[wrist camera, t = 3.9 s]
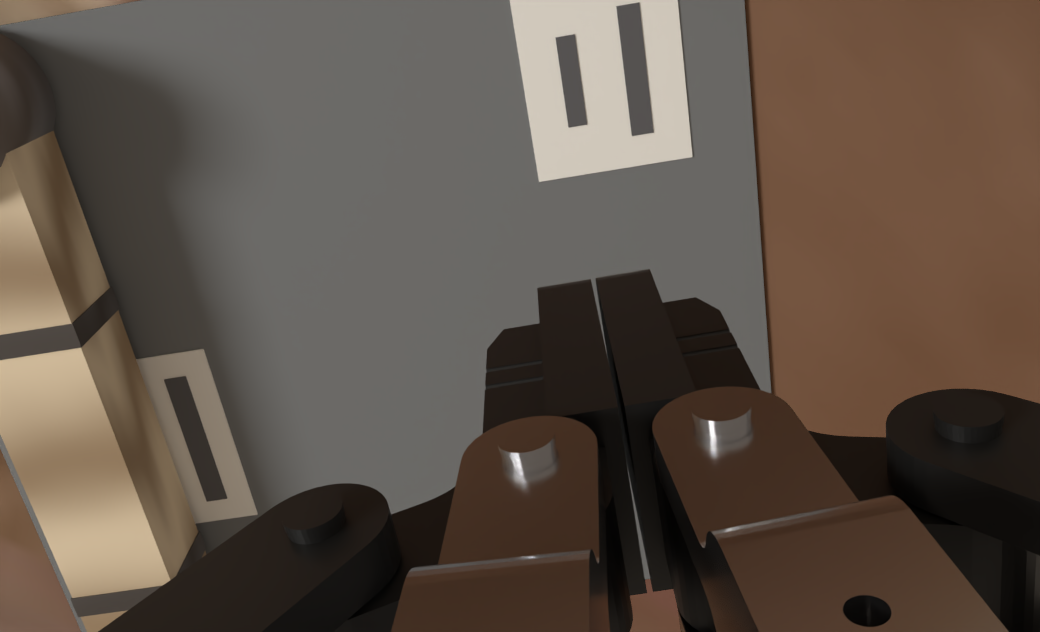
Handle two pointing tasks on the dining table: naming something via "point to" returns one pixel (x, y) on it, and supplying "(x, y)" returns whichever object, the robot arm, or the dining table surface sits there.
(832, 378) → the dining table surface
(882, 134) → the dining table surface
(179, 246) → the label mat
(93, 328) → the swing arm
